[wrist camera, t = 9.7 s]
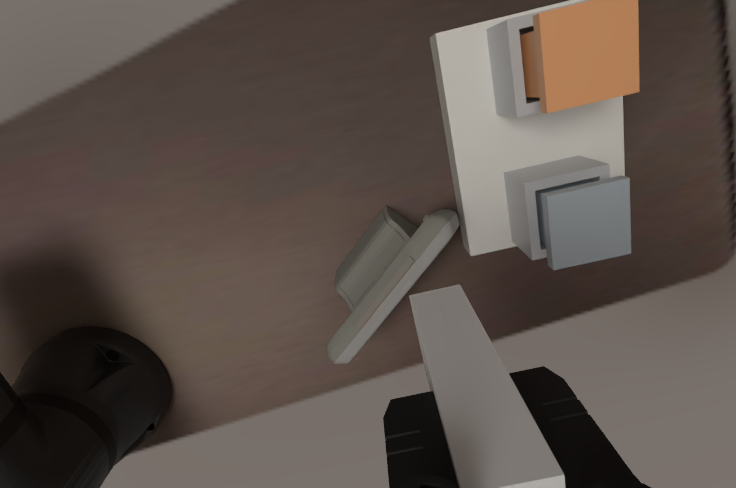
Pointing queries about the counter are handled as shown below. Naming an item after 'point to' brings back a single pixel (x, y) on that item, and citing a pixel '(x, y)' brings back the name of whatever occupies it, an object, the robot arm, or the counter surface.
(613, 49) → the orange plunger
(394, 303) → the digital clock
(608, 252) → the grey plunger
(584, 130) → the button console
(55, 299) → the counter surface
